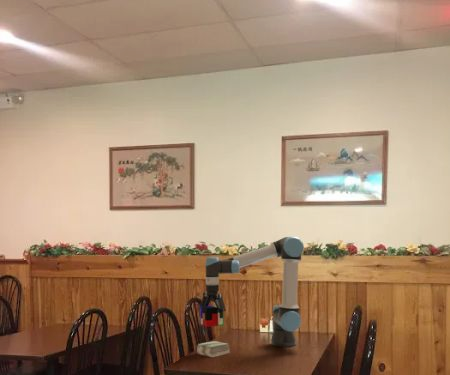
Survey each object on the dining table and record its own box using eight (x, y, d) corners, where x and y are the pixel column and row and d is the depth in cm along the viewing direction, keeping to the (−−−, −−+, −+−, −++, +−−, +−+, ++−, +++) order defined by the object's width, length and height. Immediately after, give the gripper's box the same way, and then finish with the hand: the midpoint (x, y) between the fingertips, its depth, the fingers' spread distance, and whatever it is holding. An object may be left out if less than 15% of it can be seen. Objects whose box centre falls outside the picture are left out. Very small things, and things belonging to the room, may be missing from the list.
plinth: (229, 352, 265) (229, 343, 266) (212, 357, 256) (212, 347, 257) (213, 349, 274) (213, 340, 275) (197, 353, 265) (196, 344, 266)
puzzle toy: (200, 324, 270) (200, 306, 271) (217, 322, 274) (216, 305, 275) (206, 326, 261) (206, 308, 262) (223, 325, 265) (223, 307, 266)
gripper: (193, 283, 276) (194, 321, 274) (221, 286, 259) (222, 326, 256) (203, 282, 281) (203, 319, 279) (231, 285, 264) (232, 324, 261)
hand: (212, 323), depth 268 cm, fingers closed on puzzle toy, 12 cm apart
